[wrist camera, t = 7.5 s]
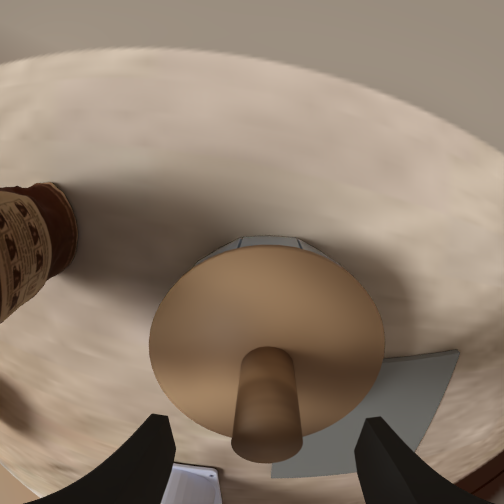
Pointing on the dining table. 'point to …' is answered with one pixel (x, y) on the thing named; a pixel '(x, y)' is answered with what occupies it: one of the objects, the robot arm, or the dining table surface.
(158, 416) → the robot arm
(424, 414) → the plate
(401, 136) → the dining table surface
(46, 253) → the coffee cup
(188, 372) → the lid
